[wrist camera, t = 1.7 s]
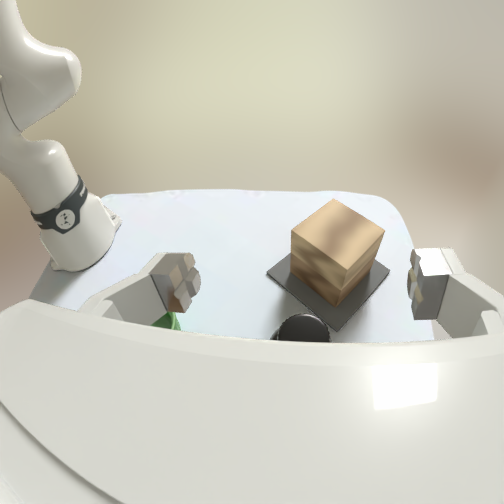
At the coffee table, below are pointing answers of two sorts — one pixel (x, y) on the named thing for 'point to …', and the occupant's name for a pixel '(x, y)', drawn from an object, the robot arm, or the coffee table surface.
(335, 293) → the tower base
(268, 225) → the coffee table surface
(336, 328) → the mat
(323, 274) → the tower top
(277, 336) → the supplement bottle
